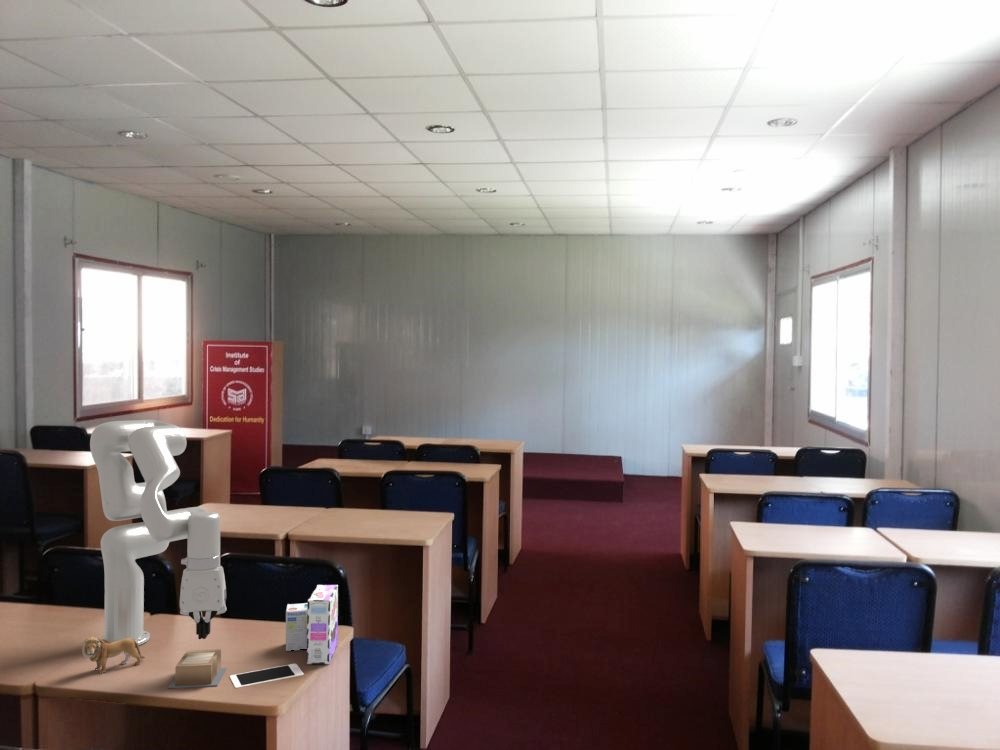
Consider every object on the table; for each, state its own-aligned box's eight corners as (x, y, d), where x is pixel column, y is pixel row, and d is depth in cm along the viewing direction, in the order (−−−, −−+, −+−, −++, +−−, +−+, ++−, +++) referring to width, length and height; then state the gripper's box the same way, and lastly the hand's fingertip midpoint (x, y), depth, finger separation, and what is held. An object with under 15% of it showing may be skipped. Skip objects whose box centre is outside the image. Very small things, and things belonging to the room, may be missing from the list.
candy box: (329, 665, 187) (330, 600, 187) (305, 665, 187) (306, 600, 186) (338, 644, 201) (339, 583, 200) (316, 644, 200) (316, 583, 200)
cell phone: (304, 676, 181) (304, 674, 181) (235, 690, 173) (235, 687, 173) (296, 665, 188) (296, 663, 188) (229, 678, 180) (229, 675, 180)
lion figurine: (86, 680, 177) (86, 642, 177) (78, 673, 180) (78, 636, 180) (149, 662, 188) (149, 627, 188) (140, 657, 191) (140, 622, 191)
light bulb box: (326, 639, 204) (326, 600, 204) (326, 648, 198) (327, 608, 198) (286, 642, 202) (286, 603, 202) (285, 652, 195) (285, 611, 195)
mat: (179, 671, 182) (179, 670, 182) (226, 669, 184) (226, 667, 184) (167, 688, 172) (167, 687, 172) (217, 686, 174) (217, 684, 174)
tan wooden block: (187, 650, 183) (175, 666, 173) (220, 648, 184) (211, 664, 174) (187, 668, 183) (175, 685, 173) (220, 667, 184) (211, 684, 174)
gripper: (167, 567, 178) (166, 644, 178) (232, 565, 180) (231, 641, 180) (176, 559, 185) (175, 633, 185) (238, 558, 188) (238, 630, 188)
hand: (203, 637), depth 183 cm, fingers closed
